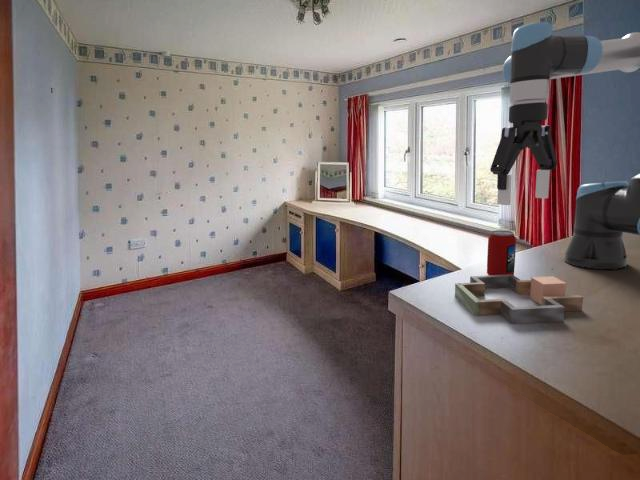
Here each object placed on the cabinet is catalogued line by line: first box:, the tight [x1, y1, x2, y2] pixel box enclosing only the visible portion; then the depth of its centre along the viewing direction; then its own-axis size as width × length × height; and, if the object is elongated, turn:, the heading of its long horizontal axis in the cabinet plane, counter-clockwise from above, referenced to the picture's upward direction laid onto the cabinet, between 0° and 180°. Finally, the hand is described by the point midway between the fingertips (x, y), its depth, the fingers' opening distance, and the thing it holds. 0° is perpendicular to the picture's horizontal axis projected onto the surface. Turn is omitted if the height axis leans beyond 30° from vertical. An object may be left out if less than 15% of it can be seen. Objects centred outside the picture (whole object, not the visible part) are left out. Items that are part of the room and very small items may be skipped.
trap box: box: [454, 274, 584, 325], centre depth 94 cm, size 23×22×3 cm
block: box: [529, 275, 567, 306], centre depth 94 cm, size 5×5×5 cm
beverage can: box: [486, 229, 517, 276], centre depth 112 cm, size 7×7×12 cm
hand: (523, 201), depth 95 cm, fingers open, 13 cm apart
